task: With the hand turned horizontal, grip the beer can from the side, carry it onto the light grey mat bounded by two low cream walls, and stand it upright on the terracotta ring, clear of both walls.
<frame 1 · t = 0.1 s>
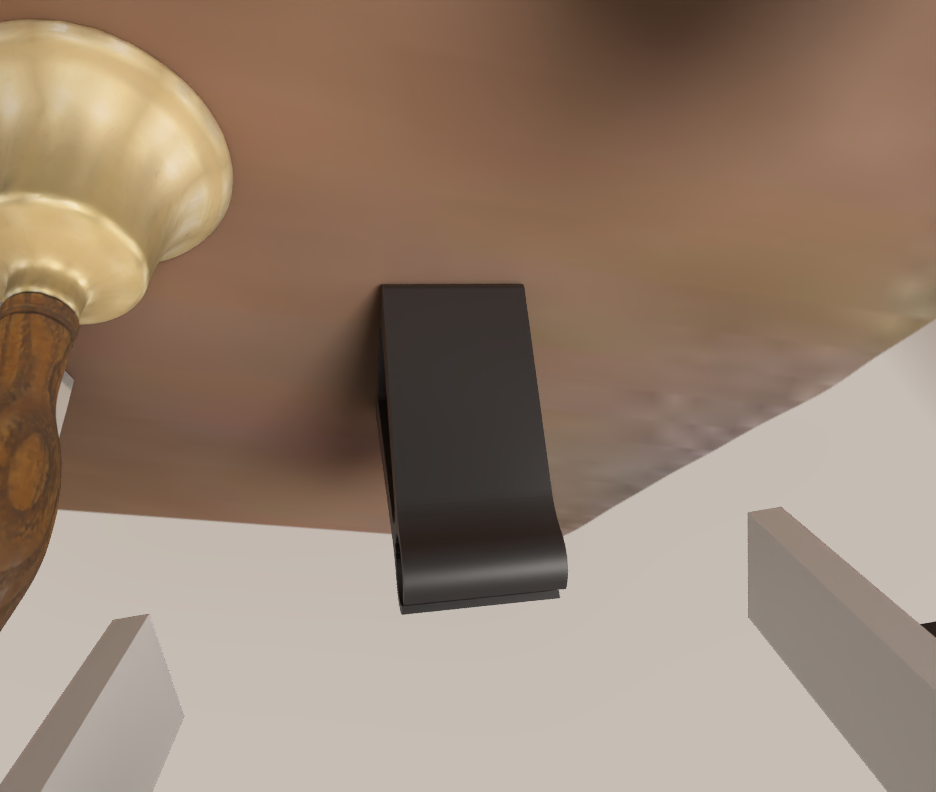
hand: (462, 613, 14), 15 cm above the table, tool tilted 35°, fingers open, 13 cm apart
hand bell: (95, 152, 21), on the table
phone stand: (441, 348, 31), on the table
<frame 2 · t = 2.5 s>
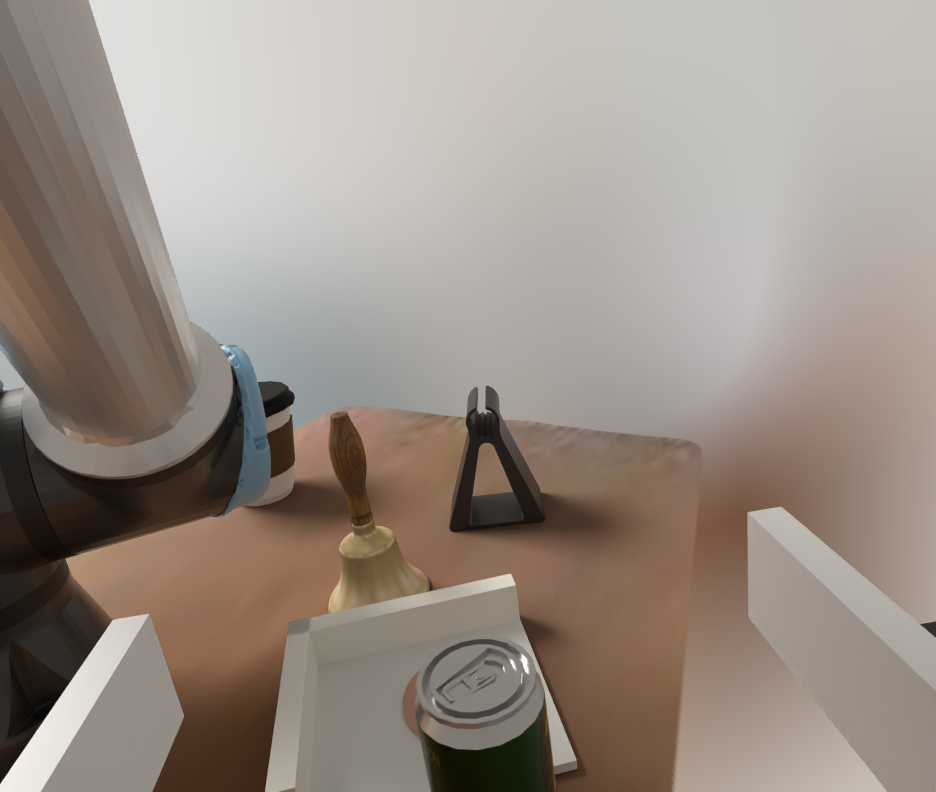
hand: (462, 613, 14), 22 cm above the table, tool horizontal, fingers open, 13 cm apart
coffee cup: (267, 495, 76), on the table
hand bell: (380, 599, 53), on the table
phone stand: (497, 513, 64), on the table
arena: (419, 708, 41), on the table
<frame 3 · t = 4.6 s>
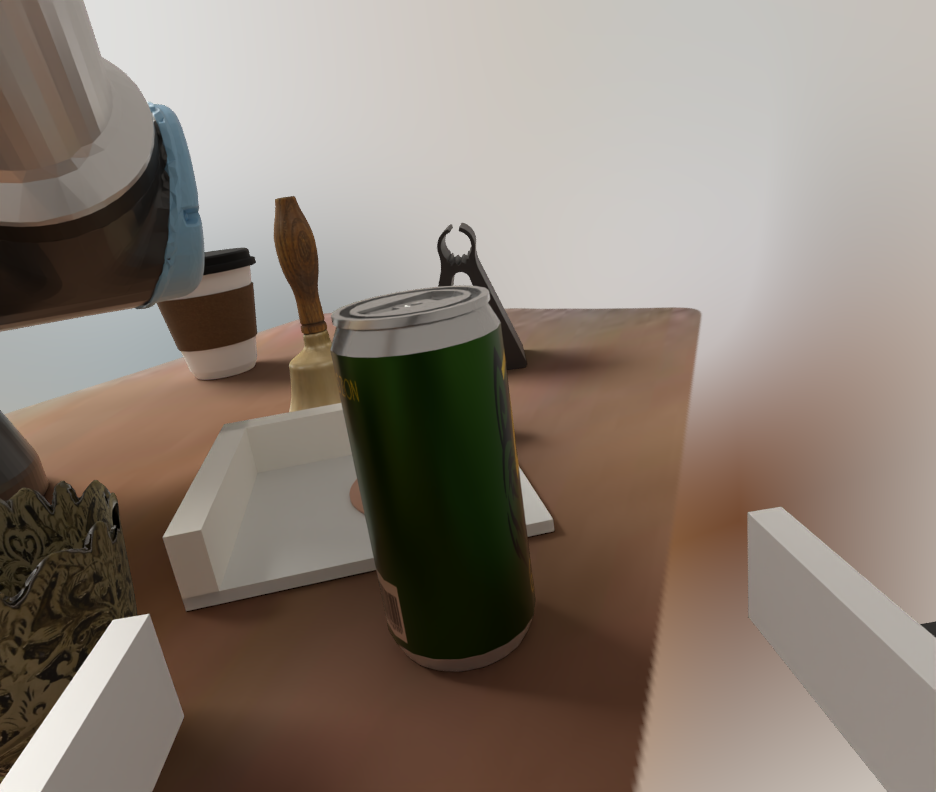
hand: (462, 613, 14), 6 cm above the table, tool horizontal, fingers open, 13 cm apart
beer can: (464, 629, 24), on the table
coffee cup: (226, 372, 69), on the table
cup: (62, 769, 20), on the table
hand bell: (337, 430, 47), on the table
phone stand: (474, 366, 58), on the table
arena: (371, 499, 35), on the table
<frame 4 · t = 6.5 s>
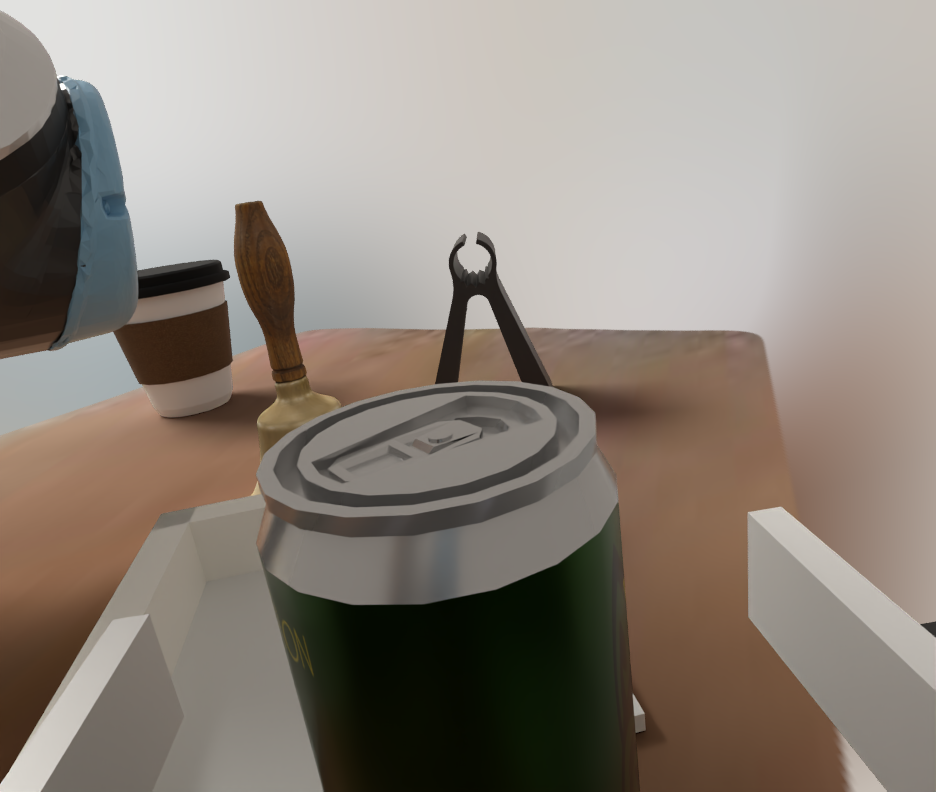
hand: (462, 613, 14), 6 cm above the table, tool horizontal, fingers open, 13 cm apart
coffee cup: (196, 407, 58), on the table
hand bell: (321, 502, 36), on the table
phone stand: (493, 408, 47), on the table
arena: (360, 639, 24), on the table
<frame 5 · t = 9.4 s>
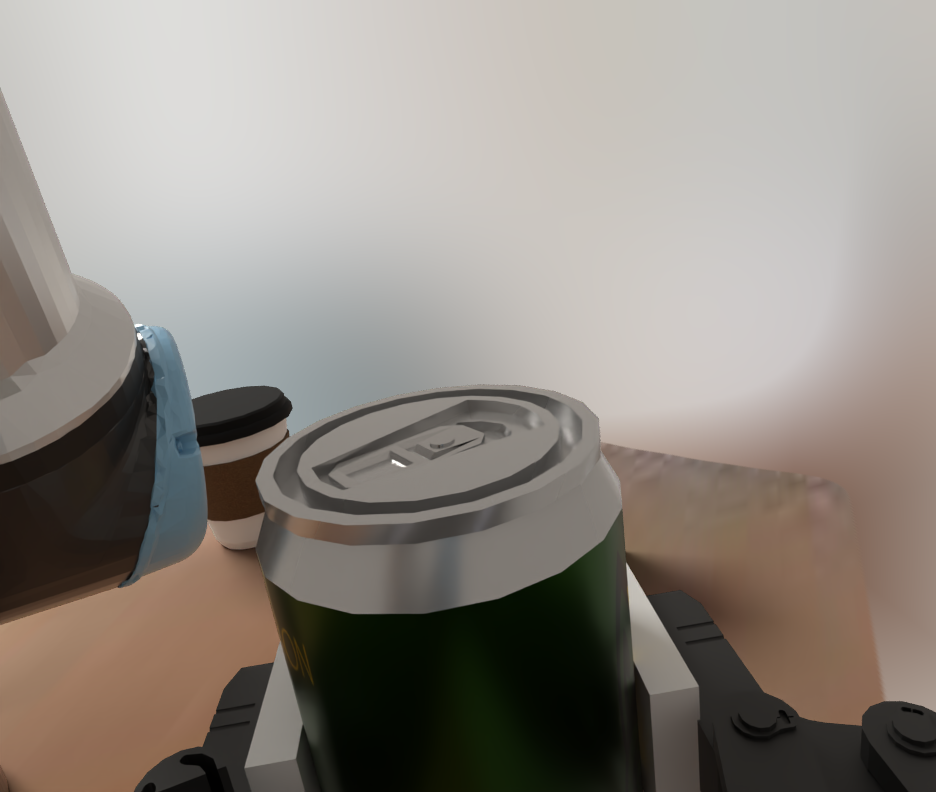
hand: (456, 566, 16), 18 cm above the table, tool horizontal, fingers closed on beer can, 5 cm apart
coffee cup: (256, 533, 58), on the table
when the fingers open (8 cm above the table, at t = 11.8 s): beer can drops 1 cm, resting on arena.
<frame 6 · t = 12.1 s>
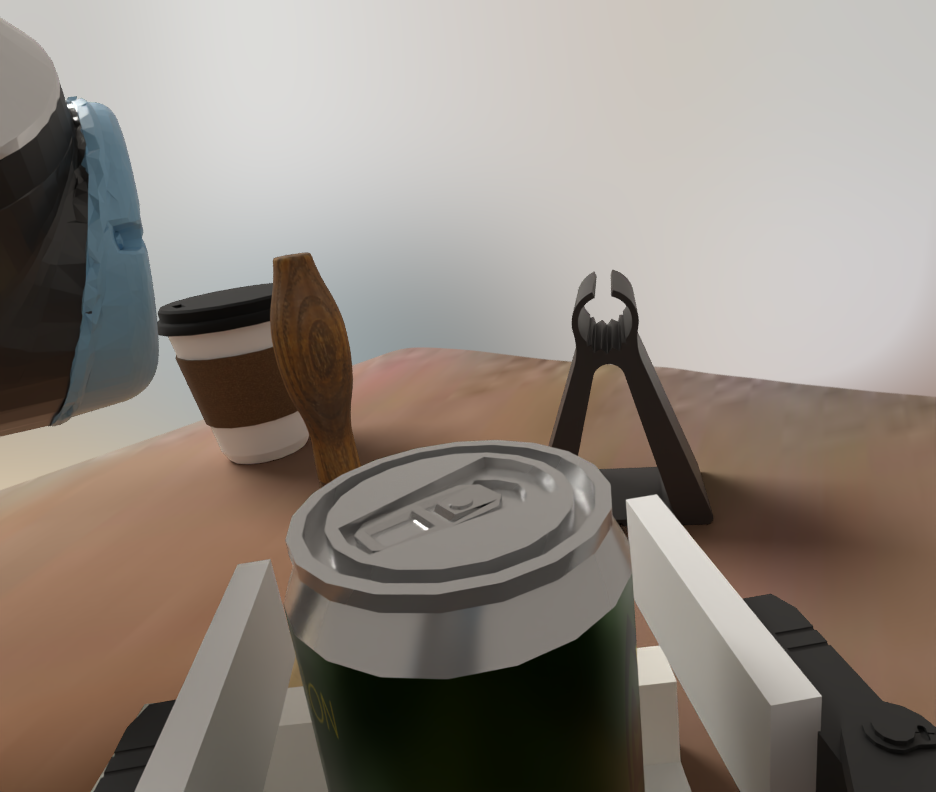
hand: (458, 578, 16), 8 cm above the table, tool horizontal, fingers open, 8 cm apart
coffee cup: (269, 450, 51), on the table
hand bell: (380, 650, 27), on the table
phone stand: (619, 501, 36), on the table
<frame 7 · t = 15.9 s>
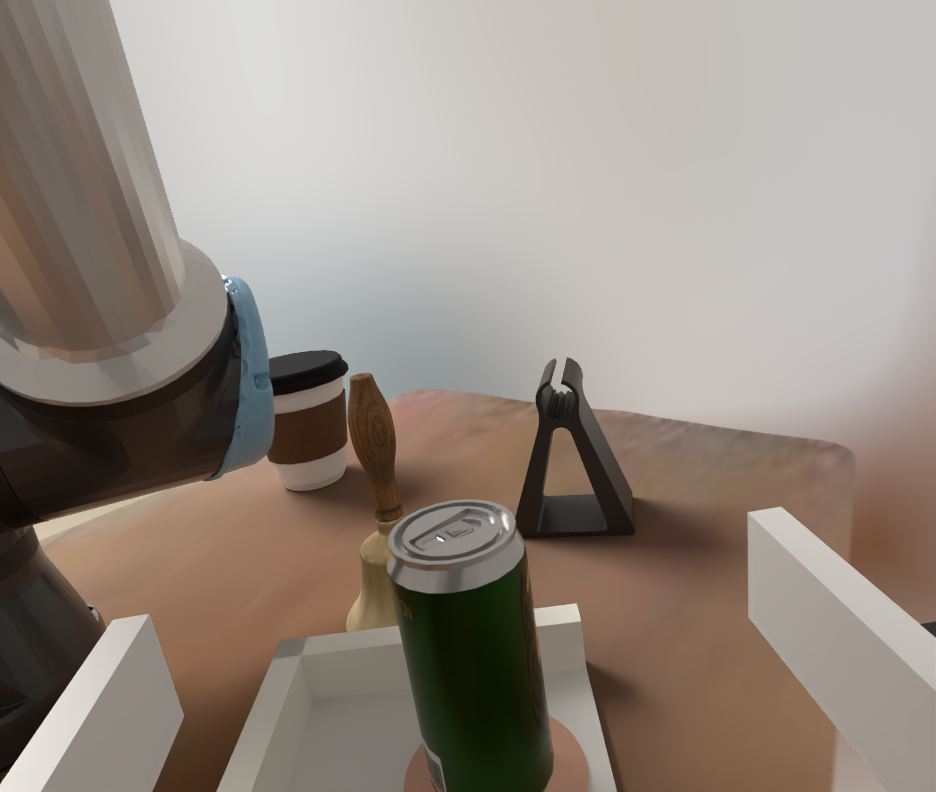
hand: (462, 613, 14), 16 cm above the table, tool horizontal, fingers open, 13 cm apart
beer can: (494, 778, 28), point 1 cm above the table, touching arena
coffee cup: (315, 479, 66), on the table
hand bell: (411, 617, 42), on the table
phone stand: (574, 519, 51), on the table
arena: (430, 785, 29), on the table
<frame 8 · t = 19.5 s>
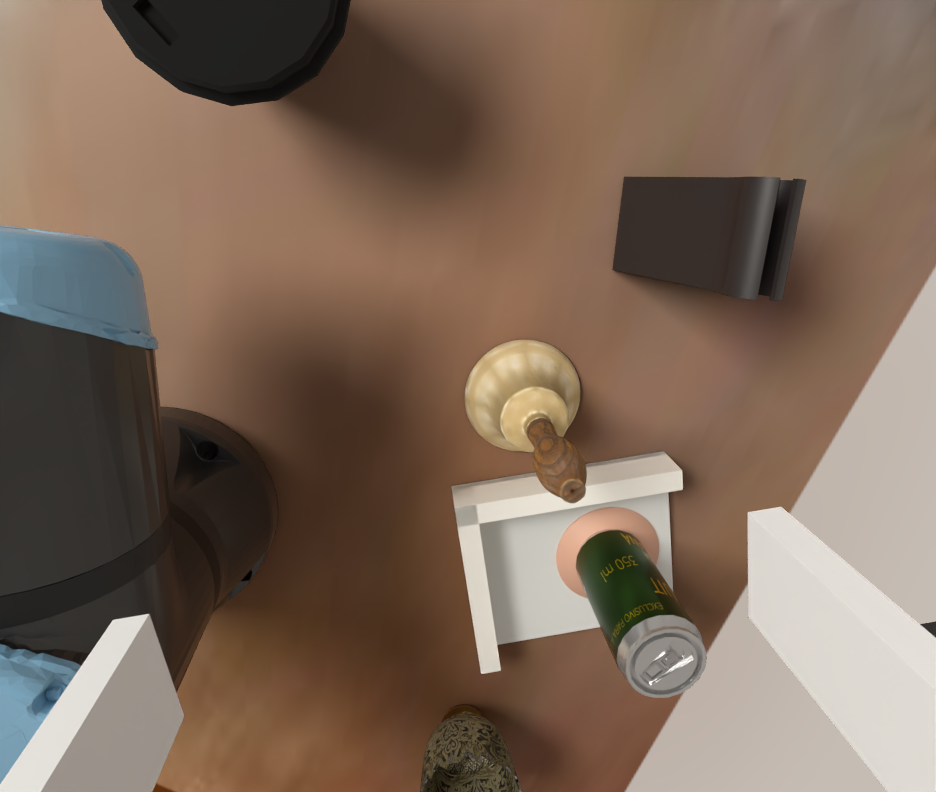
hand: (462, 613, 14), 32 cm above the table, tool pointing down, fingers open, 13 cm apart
beer can: (607, 554, 50), point 1 cm above the table, touching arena
coffee cup: (274, 27, 39), on the table
cup: (462, 716, 55), on the table
hand bell: (521, 395, 47), on the table
phone stand: (680, 227, 44), on the table
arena: (566, 550, 51), on the table
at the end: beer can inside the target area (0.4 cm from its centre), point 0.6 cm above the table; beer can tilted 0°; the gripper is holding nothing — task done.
